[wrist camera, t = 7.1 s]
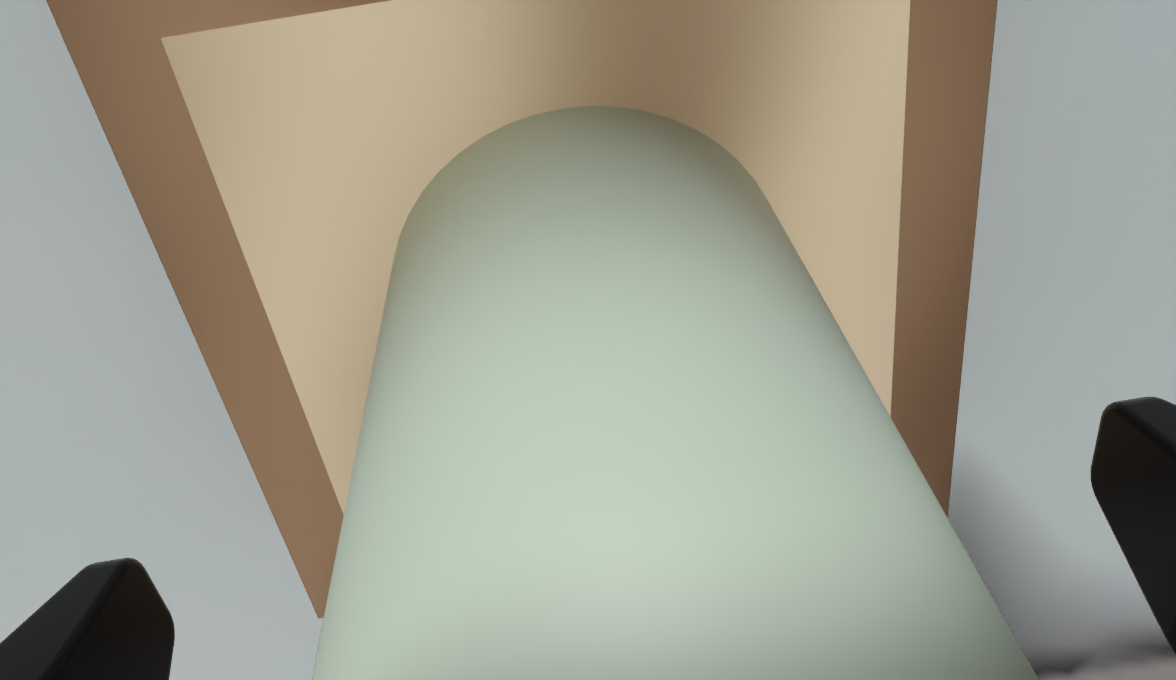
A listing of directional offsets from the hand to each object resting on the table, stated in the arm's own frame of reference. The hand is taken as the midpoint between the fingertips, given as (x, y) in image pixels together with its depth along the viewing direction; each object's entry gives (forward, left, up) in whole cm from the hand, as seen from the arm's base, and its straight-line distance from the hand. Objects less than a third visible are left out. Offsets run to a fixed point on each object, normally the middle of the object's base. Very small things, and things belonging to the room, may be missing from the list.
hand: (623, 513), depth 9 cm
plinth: (0, 0, -6) cm, 6 cm away
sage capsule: (0, 0, -4) cm, 4 cm away
